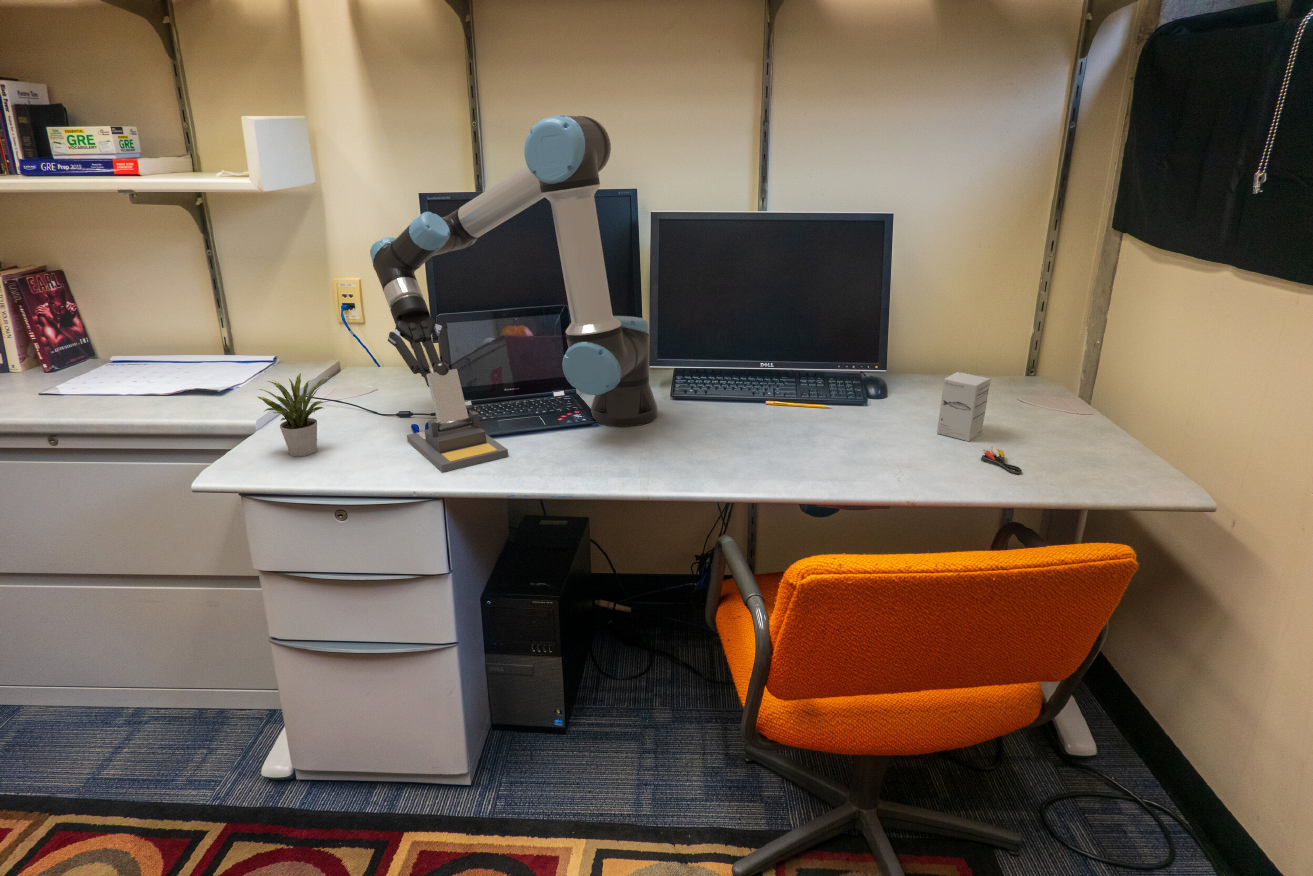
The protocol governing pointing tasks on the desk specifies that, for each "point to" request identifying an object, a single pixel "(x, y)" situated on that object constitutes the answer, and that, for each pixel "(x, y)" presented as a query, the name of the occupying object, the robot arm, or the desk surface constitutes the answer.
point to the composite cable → (999, 460)
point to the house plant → (297, 417)
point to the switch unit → (457, 445)
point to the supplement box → (963, 406)
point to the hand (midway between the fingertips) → (442, 398)
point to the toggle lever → (448, 398)
